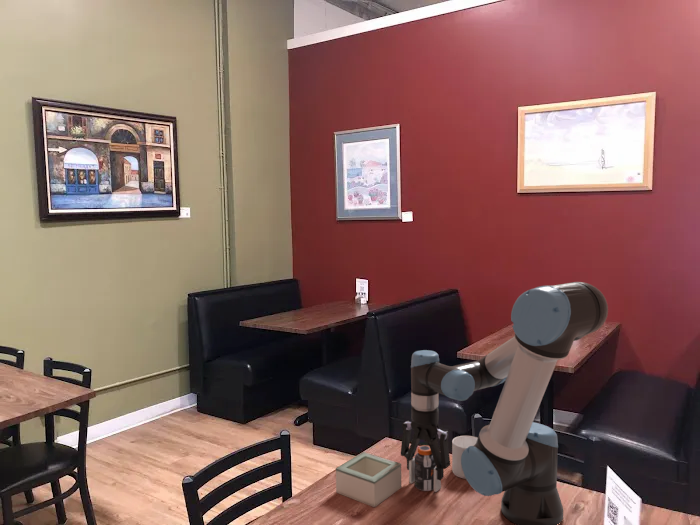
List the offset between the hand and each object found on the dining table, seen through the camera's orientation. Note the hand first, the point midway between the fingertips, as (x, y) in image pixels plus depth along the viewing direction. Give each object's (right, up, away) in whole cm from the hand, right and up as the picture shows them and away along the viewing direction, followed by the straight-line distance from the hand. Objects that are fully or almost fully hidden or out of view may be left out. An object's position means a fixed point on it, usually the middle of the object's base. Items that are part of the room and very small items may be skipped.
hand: (424, 485), depth 161 cm
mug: (+14, +1, +9) cm, 17 cm away
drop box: (-16, -1, -2) cm, 16 cm away
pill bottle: (0, -1, 0) cm, 1 cm away
